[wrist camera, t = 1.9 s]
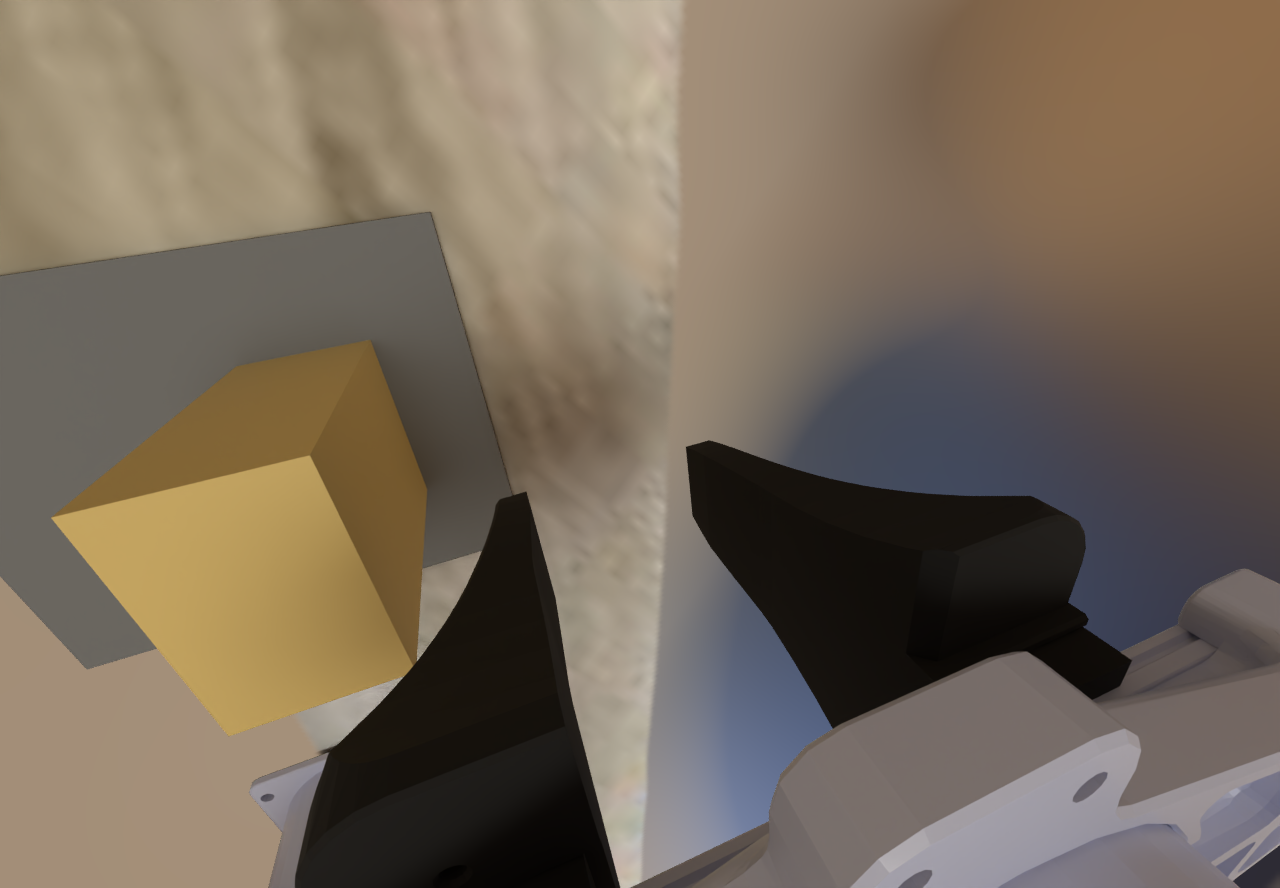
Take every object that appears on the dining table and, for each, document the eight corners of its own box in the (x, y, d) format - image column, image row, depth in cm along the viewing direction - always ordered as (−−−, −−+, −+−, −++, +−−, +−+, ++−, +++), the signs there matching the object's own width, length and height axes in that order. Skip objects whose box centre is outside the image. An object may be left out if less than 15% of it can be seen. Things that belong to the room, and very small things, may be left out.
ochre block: (427, 489, 20) (415, 671, 12) (315, 519, 19) (228, 736, 11) (370, 339, 17) (310, 455, 10) (236, 366, 16) (50, 517, 9)
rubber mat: (523, 532, 23) (524, 537, 22) (93, 660, 19) (86, 669, 19) (430, 211, 17) (429, 212, 16) (-228, 309, 13) (-245, 312, 13)
